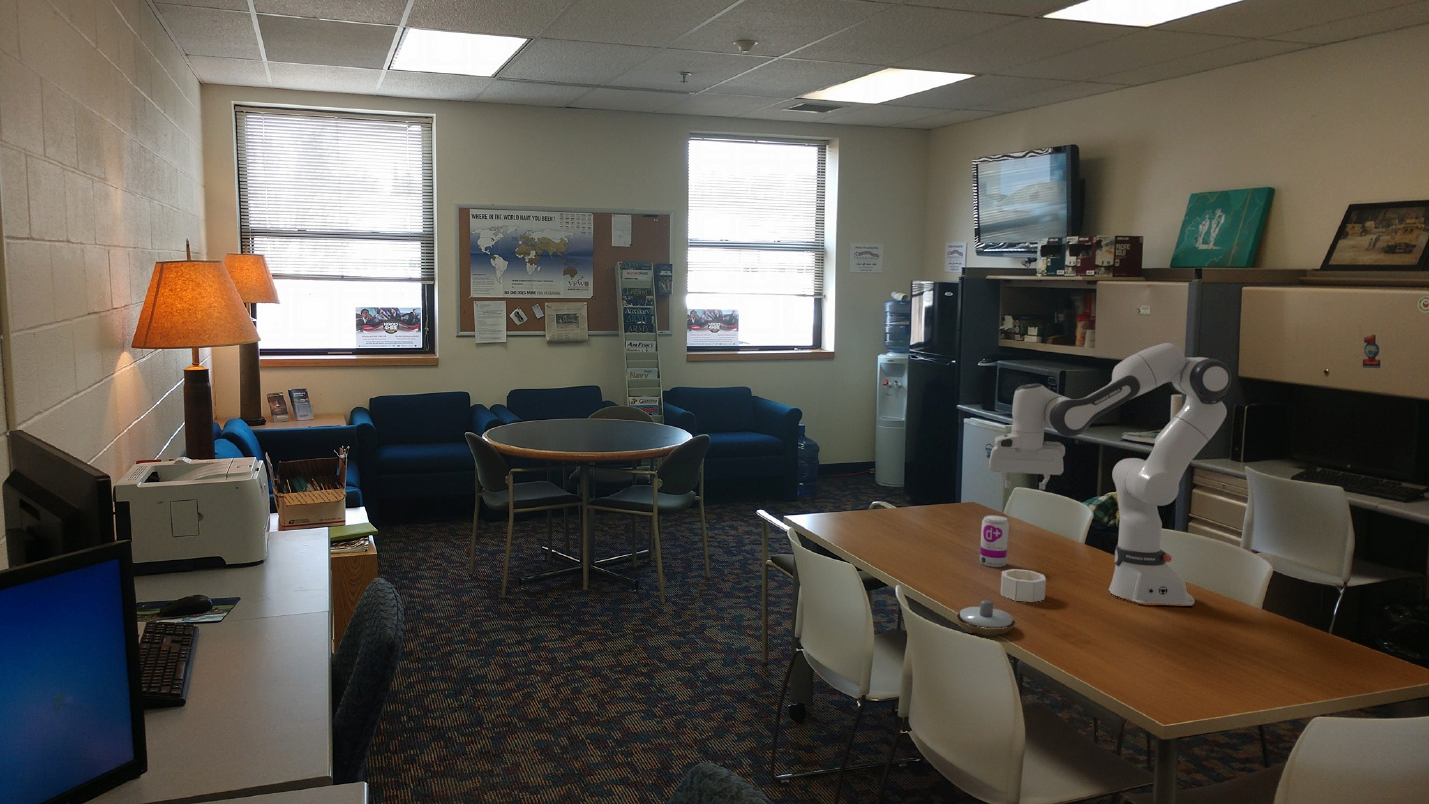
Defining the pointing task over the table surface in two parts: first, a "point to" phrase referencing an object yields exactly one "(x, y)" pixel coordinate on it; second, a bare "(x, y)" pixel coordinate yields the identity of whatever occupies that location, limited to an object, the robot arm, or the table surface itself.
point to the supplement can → (994, 541)
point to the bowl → (1023, 585)
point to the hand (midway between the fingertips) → (1024, 488)
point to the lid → (986, 616)
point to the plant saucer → (982, 630)
